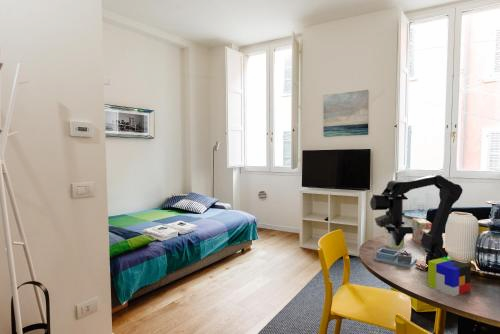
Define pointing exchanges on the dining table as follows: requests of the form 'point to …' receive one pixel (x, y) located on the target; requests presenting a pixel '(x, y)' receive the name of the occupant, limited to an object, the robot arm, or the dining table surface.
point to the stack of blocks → (420, 228)
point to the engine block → (393, 240)
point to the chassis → (392, 258)
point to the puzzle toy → (449, 276)
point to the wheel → (404, 257)
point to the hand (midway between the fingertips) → (394, 244)
